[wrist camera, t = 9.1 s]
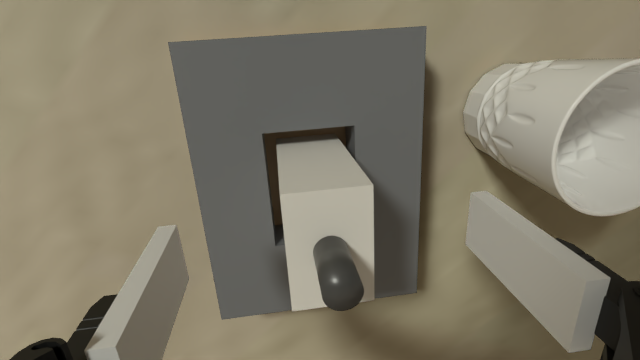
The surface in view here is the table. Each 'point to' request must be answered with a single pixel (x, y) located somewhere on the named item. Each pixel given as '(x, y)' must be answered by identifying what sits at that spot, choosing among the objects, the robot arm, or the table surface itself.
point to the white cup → (564, 128)
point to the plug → (326, 223)
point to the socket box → (294, 121)
